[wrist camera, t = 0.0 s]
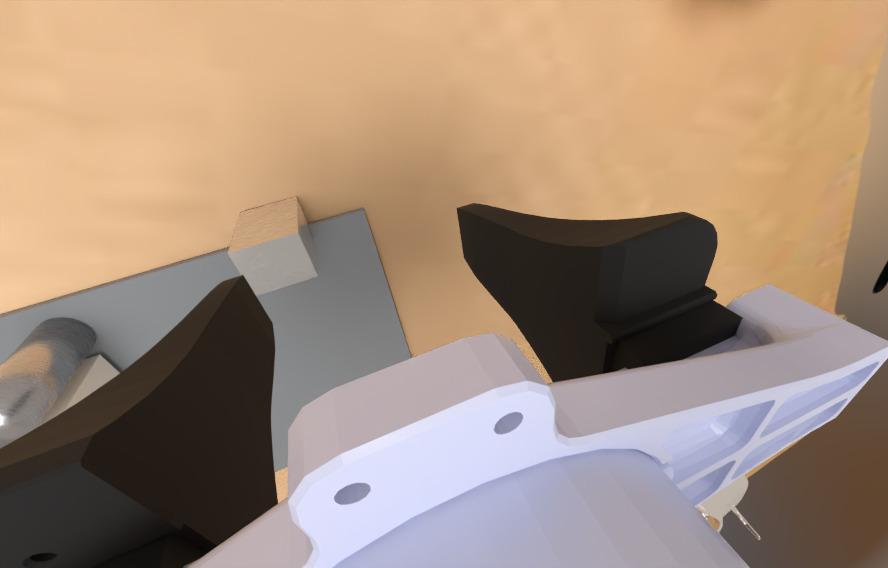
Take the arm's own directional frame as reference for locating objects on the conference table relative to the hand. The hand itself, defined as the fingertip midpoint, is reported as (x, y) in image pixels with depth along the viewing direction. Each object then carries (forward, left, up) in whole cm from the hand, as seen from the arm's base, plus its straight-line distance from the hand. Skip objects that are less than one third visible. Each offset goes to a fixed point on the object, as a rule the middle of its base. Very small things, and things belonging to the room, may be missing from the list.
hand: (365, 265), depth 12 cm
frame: (-3, +10, -10) cm, 14 cm away
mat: (-12, +9, -10) cm, 18 cm away
